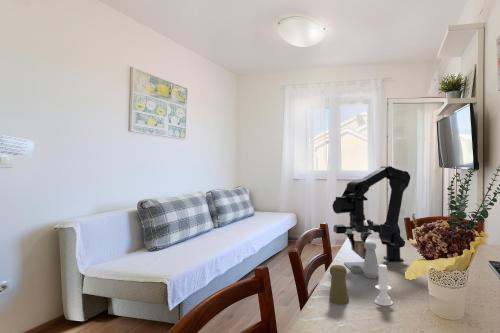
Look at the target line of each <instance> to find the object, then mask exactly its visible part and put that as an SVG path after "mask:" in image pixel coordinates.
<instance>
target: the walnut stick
mask: <svg viewBox="0 0 500 333" xmlns="http://www.w3.org/2000/svg"><path fill="white" fill-rule="evenodd" d="M366 242H367V241H365V242H364V241H363V240H361V237H354V249H353V248H352V246H351V250H352V252H353V253H355V254H356V255H358V256H359V257H360V258H361V259H363V260H365V255H366V249H365V247H364V244H365V243H366Z"/></svg>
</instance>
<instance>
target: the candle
mask: <svg viewBox="0 0 500 333" xmlns="http://www.w3.org/2000/svg"><path fill="white" fill-rule="evenodd" d="M388 281H389V280H388V267H387V265H386V264H383V263H381V264H378V284H377V285H375V286H374V287H375V288H376V289H377V290H379V291H380V292H379V294H378V295H377V296H376V299H375V300H374V303H375V304H376V305H380V306H384V307H385V306H386V307H387V306H388V307H389V306H393V304H394V302H393V300H391V296H389V295H388V291H390V290H392V287H391V286H390V285H388Z"/></svg>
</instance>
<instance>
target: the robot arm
mask: <svg viewBox="0 0 500 333" xmlns="http://www.w3.org/2000/svg"><path fill="white" fill-rule="evenodd" d="M384 179H387V180H388V184H389V187H390V190H391V191H390V196H389V202H388V203H389V204H388V207H387V212H386V219H385V222H384V223H380V224H378V223H374V220H373V219H366V215H365V208H364V204H365V203H364V201H368V197H366V196H365V194H366V193H367V192H368V191H369V190H370V188H371V187H372V186H374V185H375V184H377V183H378V182H380V181H382V180H384ZM410 181H411V175H410V173H409V172H408V171H407V170H401V169H399V168H396V167H393V166H391V165H383V166H380V167H379V168H378V169H376V170H374V171H373V172H370V174H368V175H366V176H364V177H363V178H359V179H355V180H351V181H349V182H348V183H347V184H346V187H345V189H344V191H343V193H342V195H341V196H335V200H334V201H333V202H332V209H333V212H334V213H335V214H337V215H338V214H348V216H349V226H345V225H344V224H334V225H333V226H332V228H333V232H334V233H335V234H337V235H338V234H344V235H346V237H347V238H348V241H349V243H350V245H351V246H352V248H353V249H354V238H355V237H354V236H355V233H353V232H356V233H360V239H361V240H363V241H364V242H367V239H368V237H369V236H370V235H372V234H373V233H372V231H373V232H374V233H378V238H379V240H380V243H381V244H382V245H384V246H385V249H386V250H385V251H386V252H385V254H386V256H383V259H384V260H386V261H388V262H401V261H402V262H403V261H404V259H403V258H402V257H401V248H403V247H405V245H406V241H405V240H404V238H403V237H402V236H401V228H400V226H399V224H398V223H399V218H400V213H401V206H402V203H403V195H404V192H405V190H406V189H408V187H409V185H410Z"/></svg>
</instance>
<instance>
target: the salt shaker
mask: <svg viewBox="0 0 500 333" xmlns="http://www.w3.org/2000/svg"><path fill="white" fill-rule="evenodd" d="M365 242H366V243H365V244H364V247H365V249H366V255H365V259H364V260H363V262H364V267H363V272H364V273H363V274H364V276H365V278H367V279H377V278H379V276H378V265H379V264H378V259H377V255H376V253H377V252H376V249H377V244H376V243H375V242H373V241H365Z"/></svg>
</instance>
